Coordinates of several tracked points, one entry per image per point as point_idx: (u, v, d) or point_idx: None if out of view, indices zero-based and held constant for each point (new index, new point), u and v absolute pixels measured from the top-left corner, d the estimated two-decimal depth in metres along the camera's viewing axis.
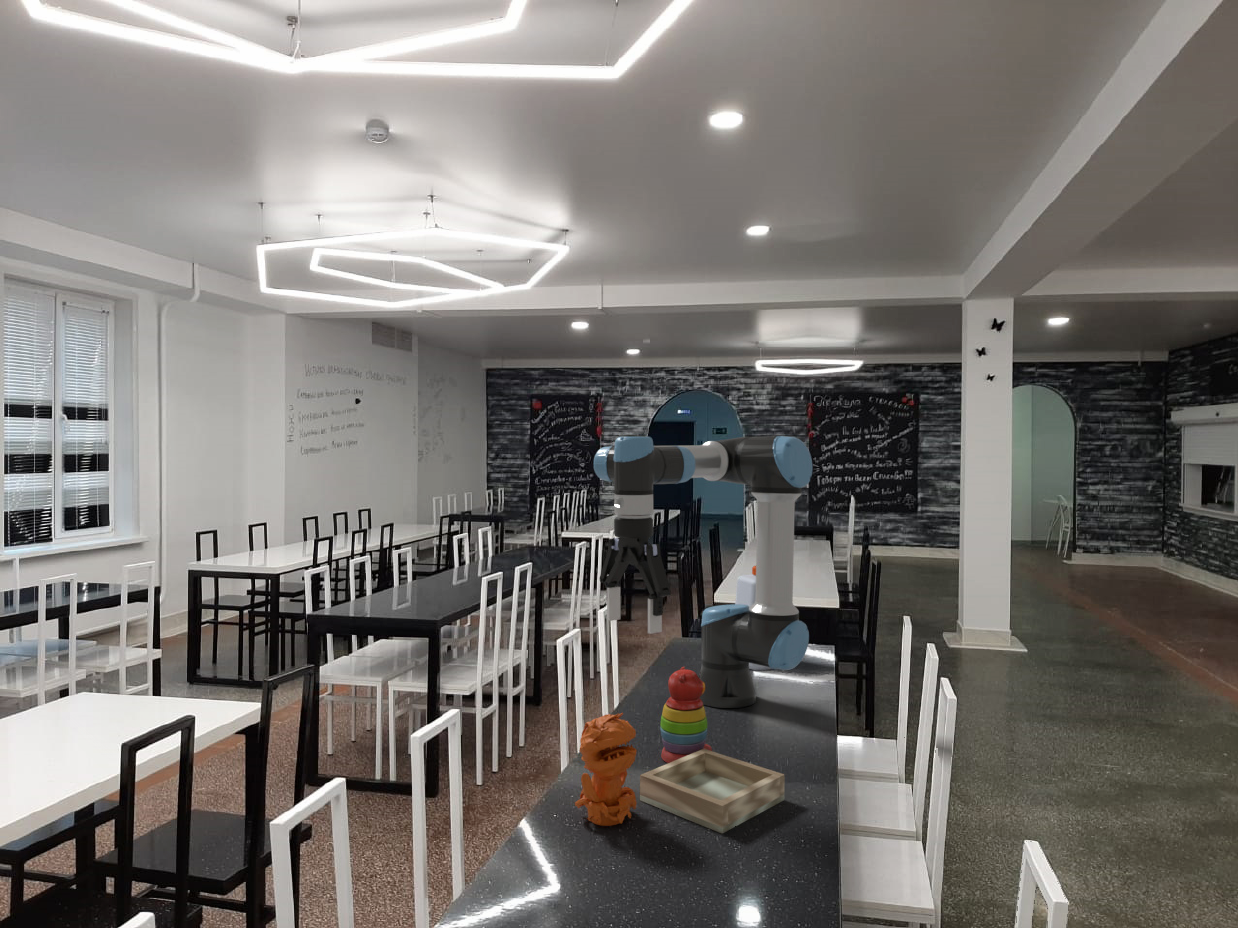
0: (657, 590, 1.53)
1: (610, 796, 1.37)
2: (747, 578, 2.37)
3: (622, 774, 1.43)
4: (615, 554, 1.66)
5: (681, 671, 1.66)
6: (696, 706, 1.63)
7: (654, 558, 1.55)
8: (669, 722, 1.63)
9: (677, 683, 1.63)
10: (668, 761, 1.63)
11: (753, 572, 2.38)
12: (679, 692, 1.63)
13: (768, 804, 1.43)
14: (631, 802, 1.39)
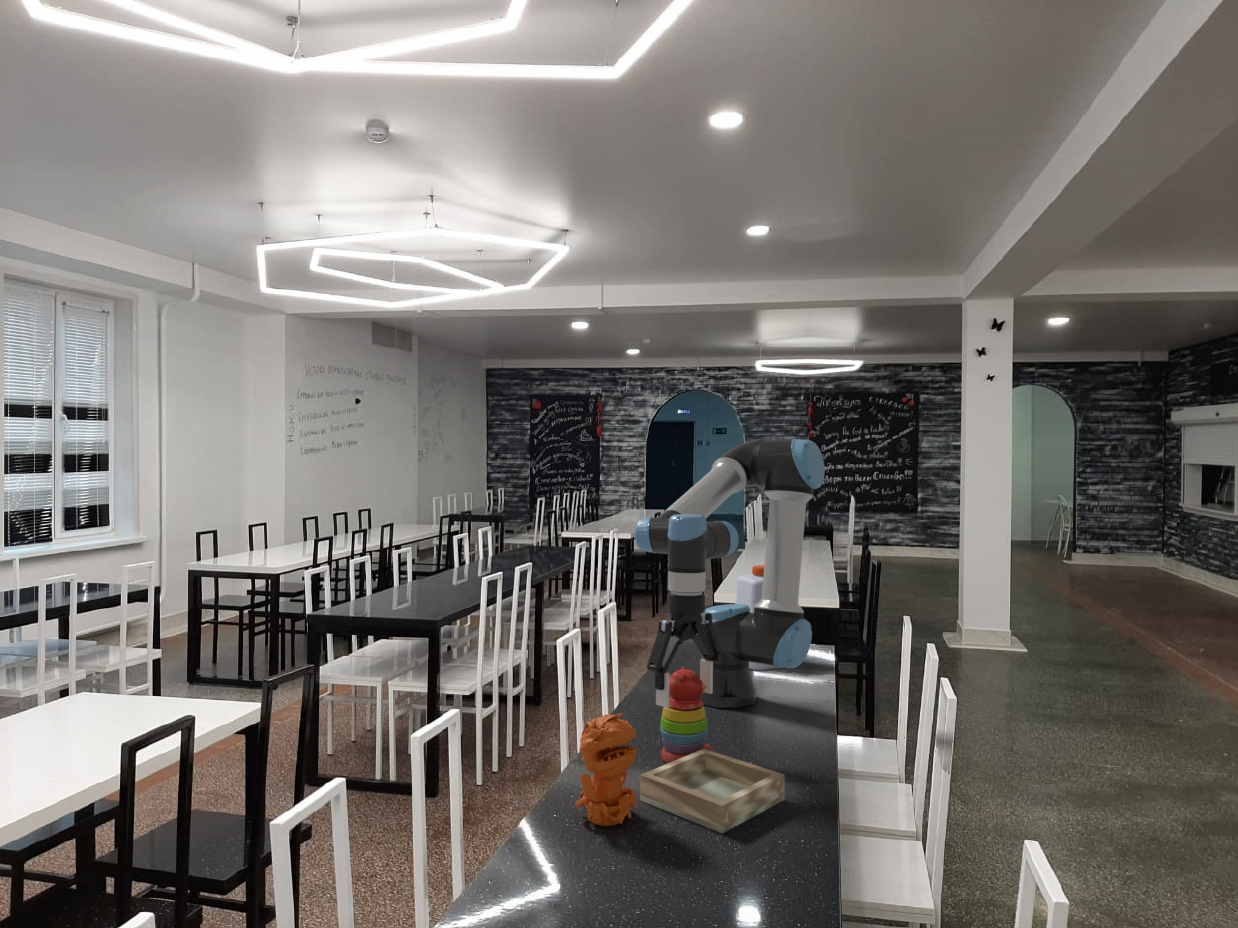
0: None
1: (610, 796, 1.37)
2: (747, 578, 2.37)
3: (622, 774, 1.43)
4: (705, 628, 1.70)
5: (681, 671, 1.66)
6: (696, 706, 1.63)
7: (660, 633, 1.61)
8: (669, 722, 1.63)
9: (677, 683, 1.63)
10: (668, 761, 1.63)
11: (753, 572, 2.38)
12: (679, 692, 1.63)
13: (768, 804, 1.43)
14: (631, 802, 1.39)
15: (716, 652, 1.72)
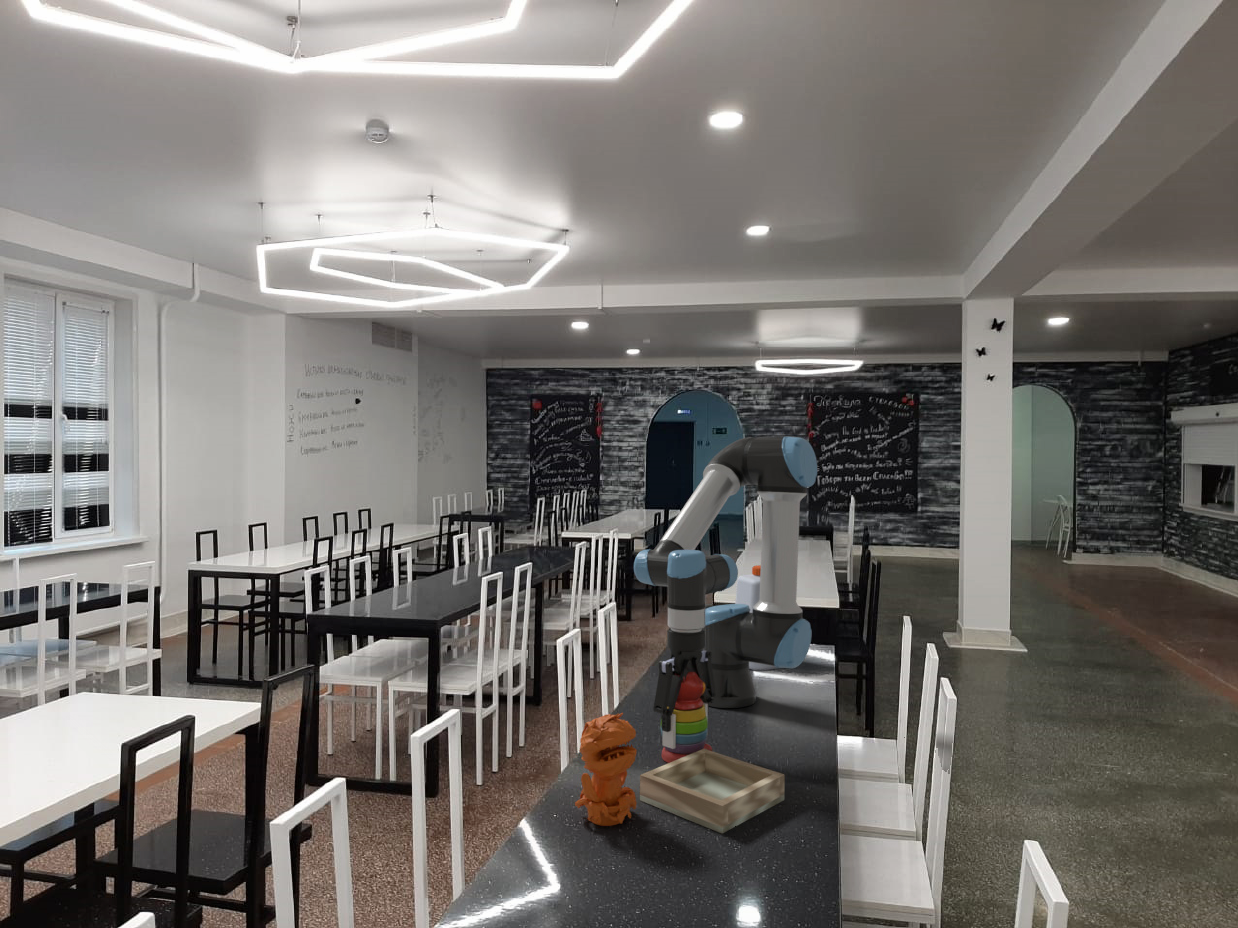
0: None
1: (610, 796, 1.37)
2: (747, 578, 2.37)
3: (622, 774, 1.43)
4: (703, 666, 1.70)
5: None
6: (696, 706, 1.64)
7: (662, 675, 1.62)
8: None
9: None
10: (668, 761, 1.64)
11: (753, 572, 2.38)
12: (679, 692, 1.63)
13: (768, 804, 1.43)
14: (631, 802, 1.39)
15: (711, 693, 1.71)
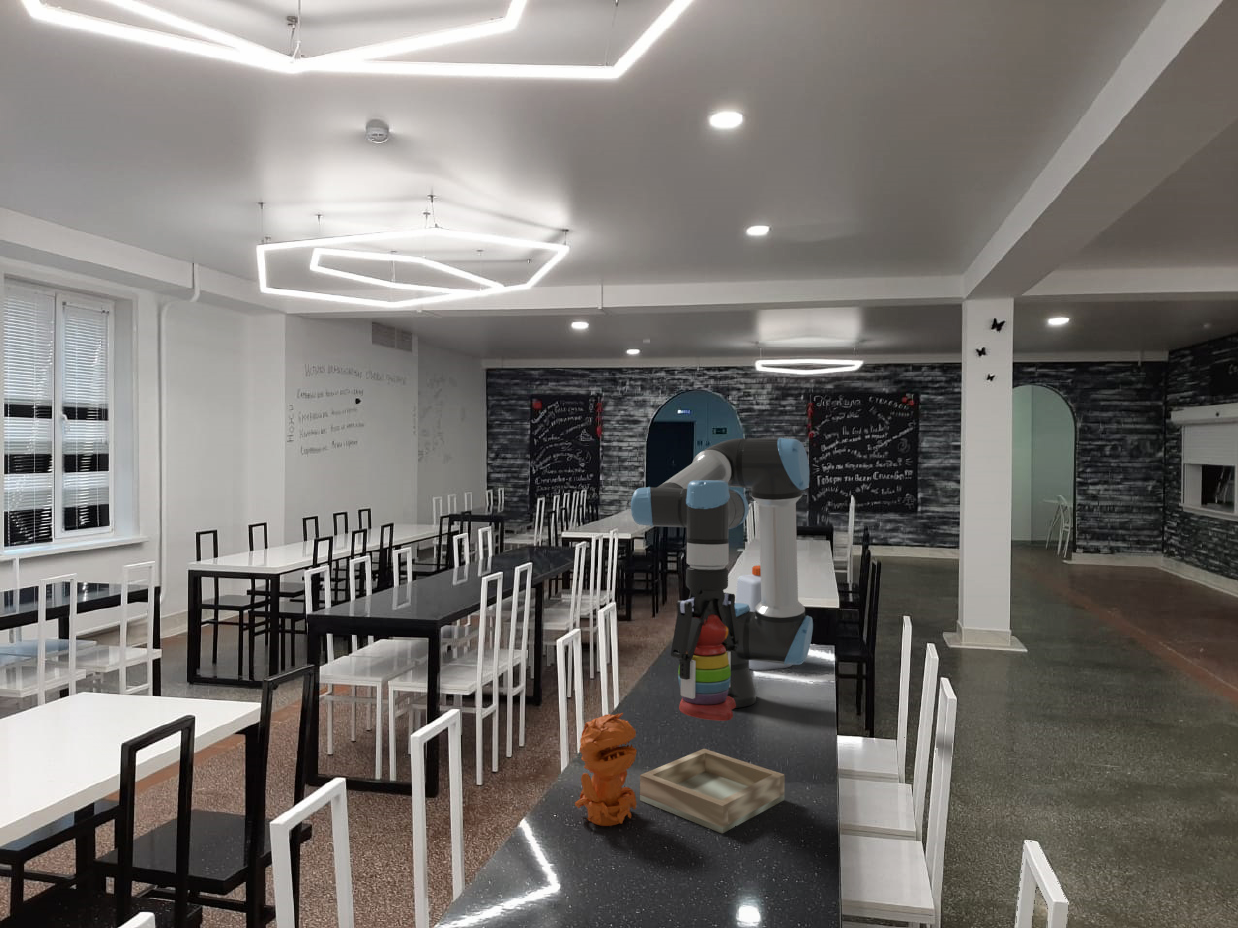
0: None
1: (610, 796, 1.37)
2: (747, 578, 2.37)
3: (622, 774, 1.43)
4: (725, 610, 1.53)
5: None
6: (718, 651, 1.47)
7: (680, 616, 1.45)
8: None
9: None
10: (687, 713, 1.47)
11: (753, 572, 2.38)
12: None
13: (768, 804, 1.43)
14: (631, 802, 1.39)
15: (734, 640, 1.54)
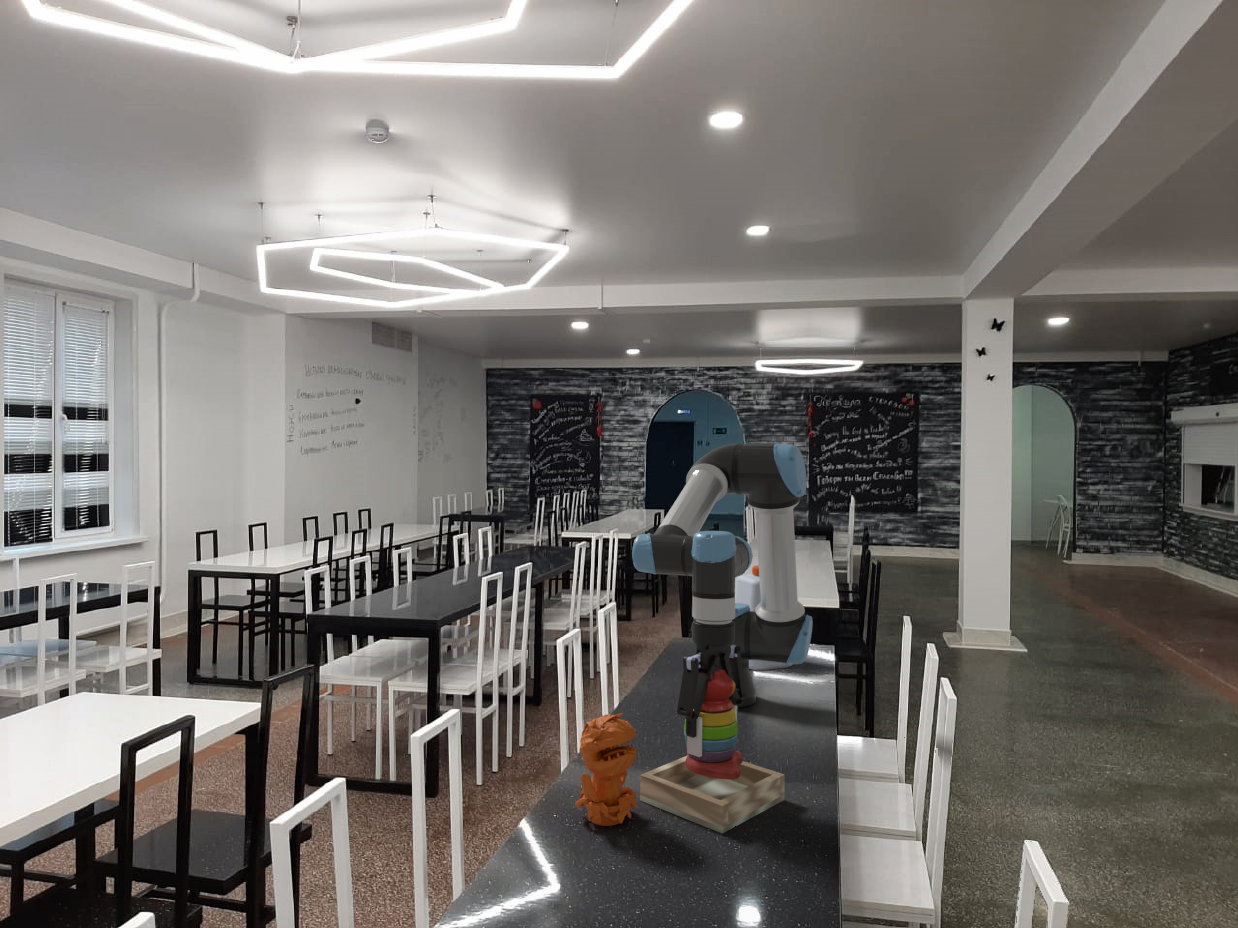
0: None
1: (610, 796, 1.37)
2: (747, 578, 2.37)
3: (622, 774, 1.43)
4: (732, 663, 1.50)
5: None
6: (725, 708, 1.44)
7: (687, 672, 1.42)
8: None
9: None
10: (693, 770, 1.44)
11: (753, 572, 2.38)
12: (706, 692, 1.43)
13: (768, 804, 1.43)
14: (631, 802, 1.39)
15: (741, 693, 1.51)
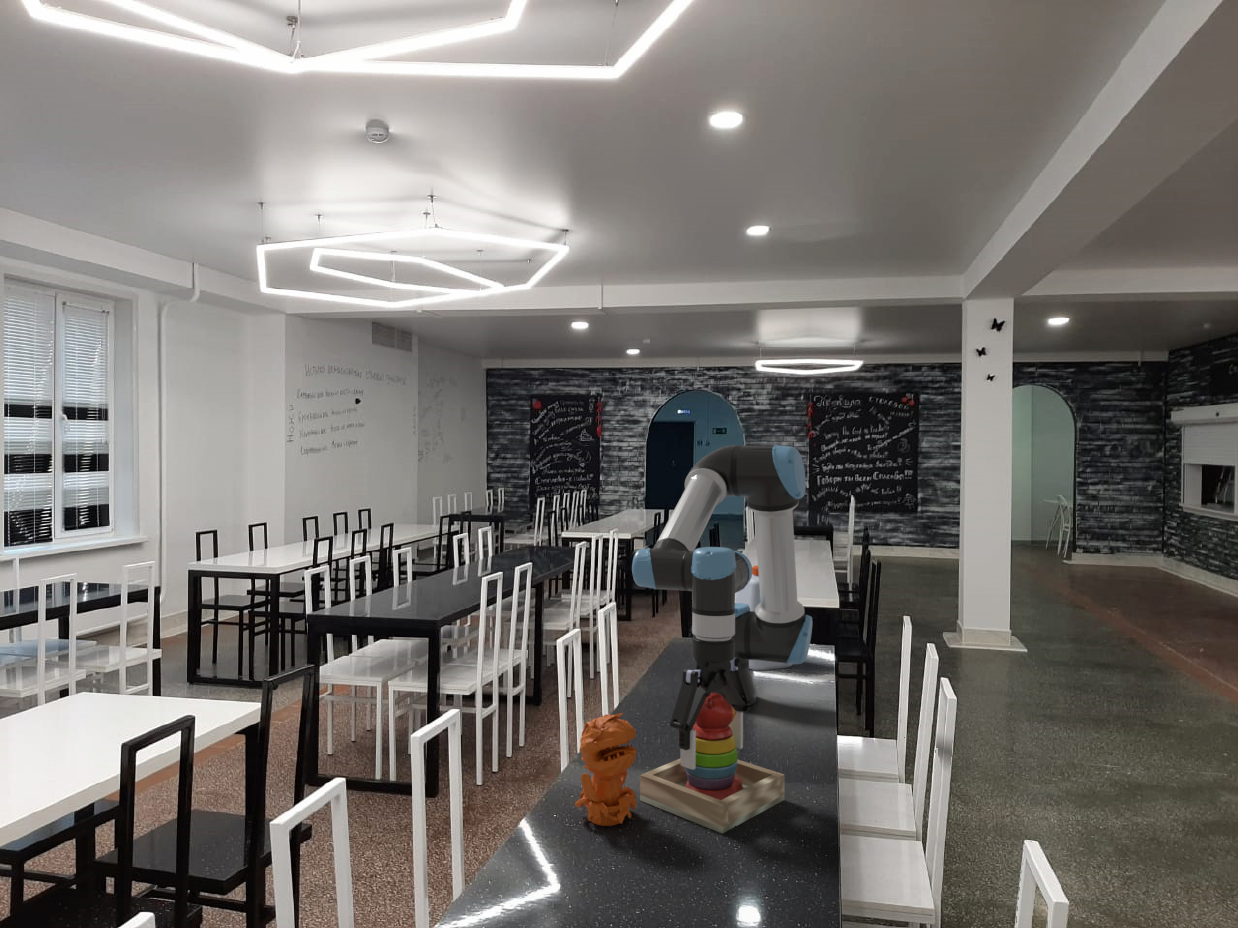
0: None
1: (610, 796, 1.37)
2: None
3: (622, 774, 1.43)
4: (734, 675, 1.51)
5: None
6: (725, 735, 1.44)
7: (685, 685, 1.41)
8: None
9: (704, 709, 1.44)
10: None
11: (753, 572, 2.38)
12: (706, 719, 1.44)
13: (768, 804, 1.43)
14: (631, 802, 1.39)
15: (746, 701, 1.52)
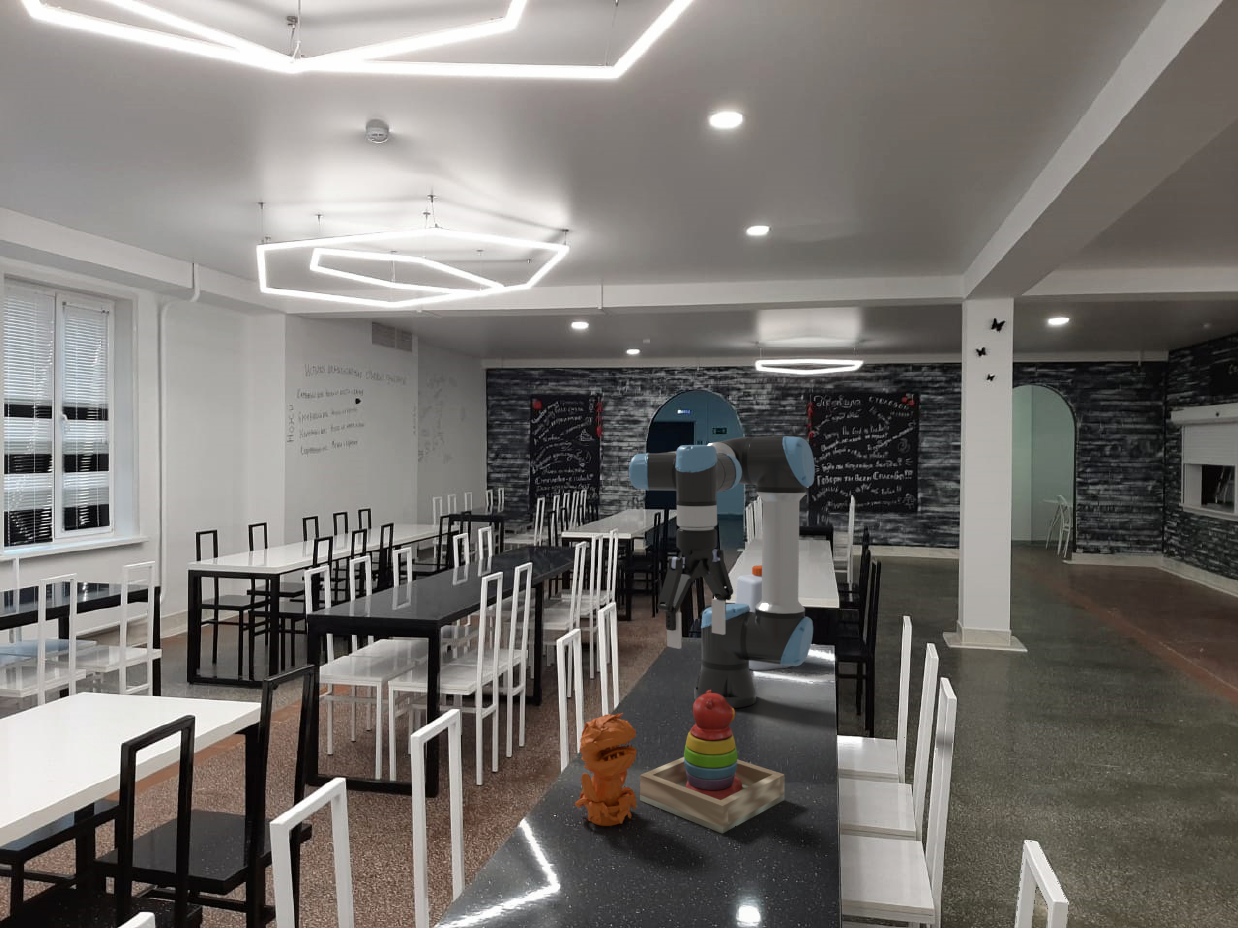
0: None
1: (610, 796, 1.37)
2: (747, 578, 2.37)
3: (622, 774, 1.43)
4: (716, 566, 1.61)
5: (708, 695, 1.46)
6: (725, 735, 1.44)
7: (671, 571, 1.51)
8: (694, 753, 1.44)
9: (704, 709, 1.44)
10: None
11: (753, 572, 2.38)
12: (706, 719, 1.44)
13: (768, 804, 1.43)
14: (631, 802, 1.39)
15: (728, 591, 1.62)
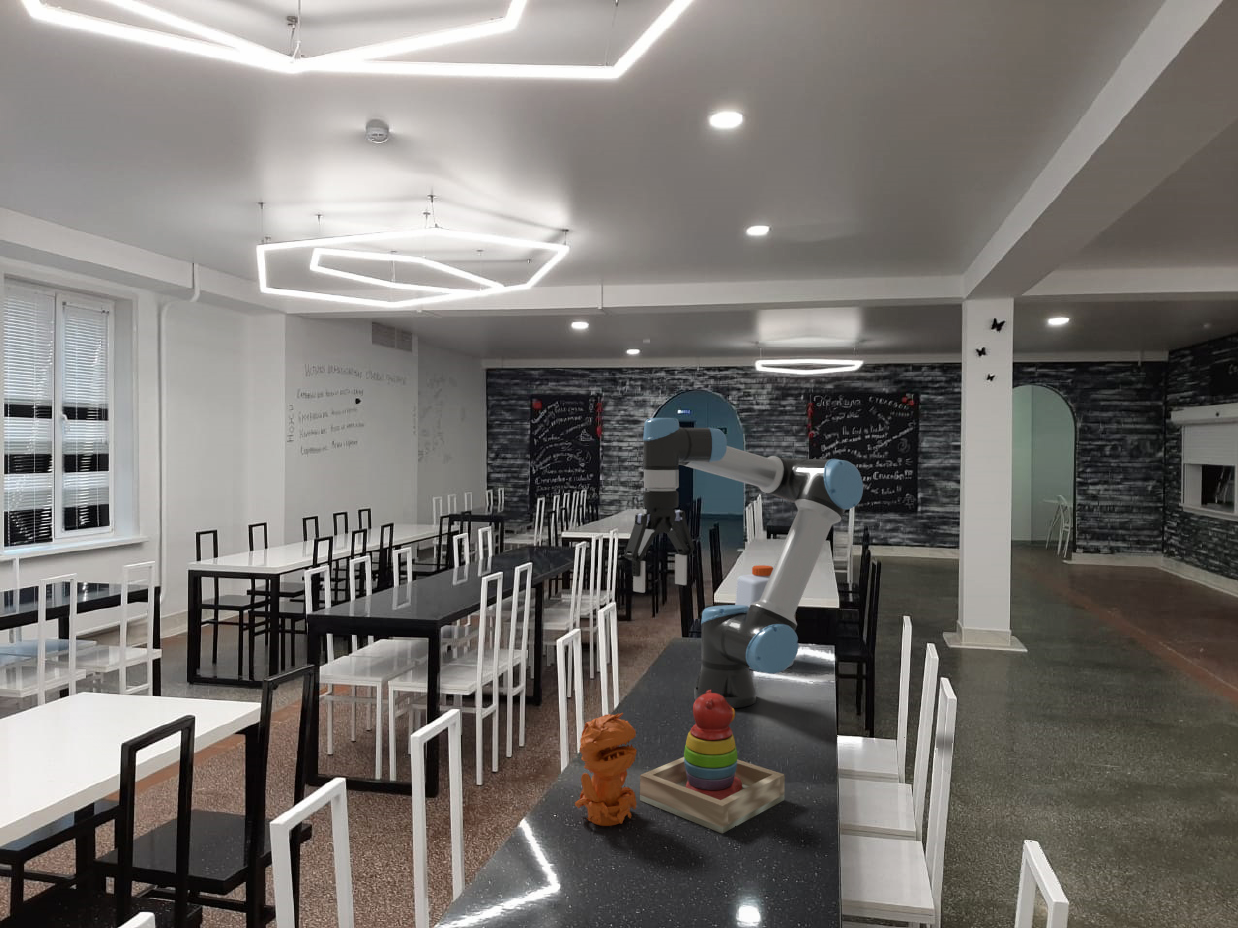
0: None
1: (610, 796, 1.37)
2: (747, 578, 2.37)
3: (622, 774, 1.43)
4: (679, 525, 1.84)
5: (708, 695, 1.46)
6: (725, 735, 1.44)
7: (637, 525, 1.75)
8: (694, 753, 1.44)
9: (704, 709, 1.44)
10: None
11: (753, 572, 2.38)
12: (706, 719, 1.44)
13: (768, 804, 1.43)
14: (631, 802, 1.39)
15: (690, 547, 1.85)
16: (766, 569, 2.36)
